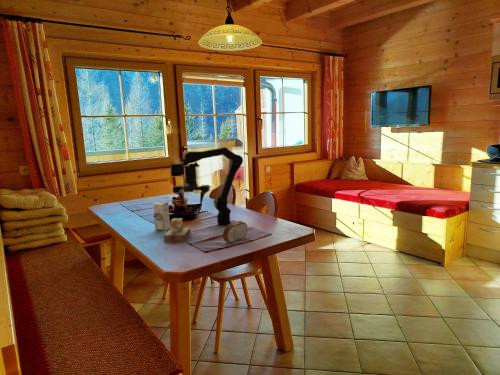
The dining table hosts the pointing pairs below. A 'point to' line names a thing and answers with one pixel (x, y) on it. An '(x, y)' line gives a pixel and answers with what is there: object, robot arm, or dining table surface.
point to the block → (177, 225)
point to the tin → (235, 231)
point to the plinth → (177, 236)
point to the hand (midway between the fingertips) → (192, 204)
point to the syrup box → (161, 215)
